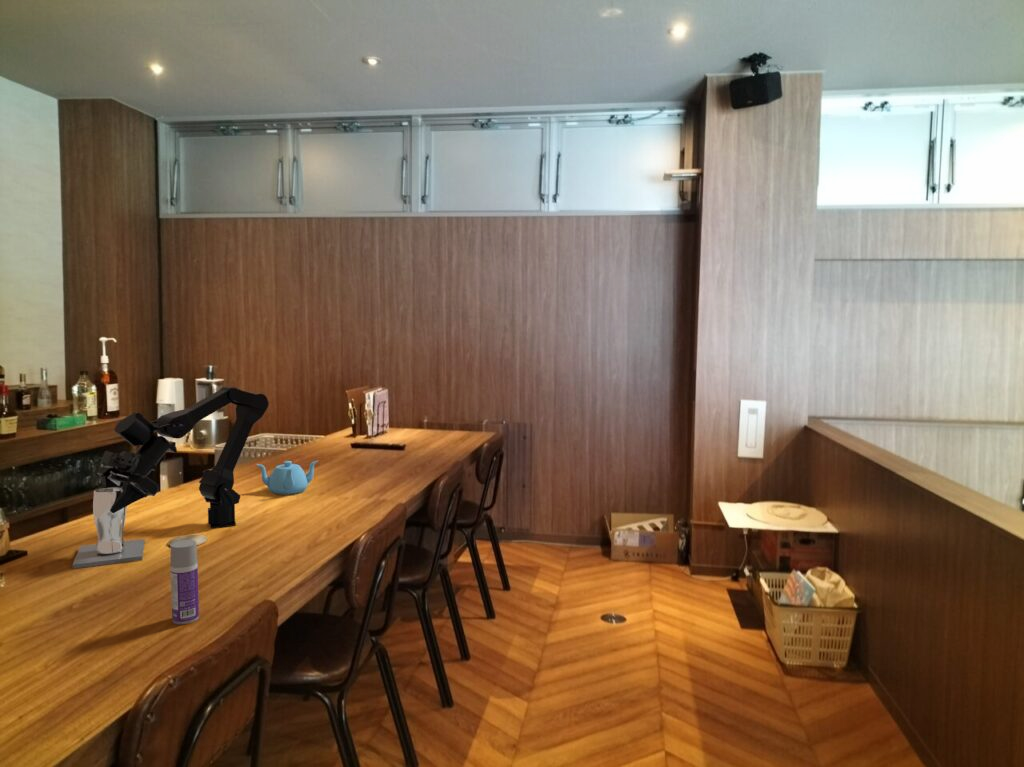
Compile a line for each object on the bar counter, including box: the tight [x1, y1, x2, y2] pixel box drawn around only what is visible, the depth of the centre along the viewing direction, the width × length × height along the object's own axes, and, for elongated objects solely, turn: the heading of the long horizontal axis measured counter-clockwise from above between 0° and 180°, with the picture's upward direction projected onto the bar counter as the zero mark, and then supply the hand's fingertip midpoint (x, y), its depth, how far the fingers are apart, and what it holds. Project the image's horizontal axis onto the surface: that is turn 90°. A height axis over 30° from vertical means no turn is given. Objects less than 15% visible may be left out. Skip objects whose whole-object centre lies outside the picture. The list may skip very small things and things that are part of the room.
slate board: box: [72, 538, 146, 570], centre depth 163 cm, size 14×14×1 cm
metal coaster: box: [168, 534, 208, 547], centre depth 173 cm, size 9×9×1 cm
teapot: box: [256, 460, 319, 496], centre depth 226 cm, size 15×15×10 cm
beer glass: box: [92, 486, 128, 554], centre depth 162 cm, size 7×7×15 cm
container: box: [170, 540, 200, 625], centre depth 128 cm, size 5×5×15 cm
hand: (103, 509), depth 161 cm, fingers open, 6 cm apart
